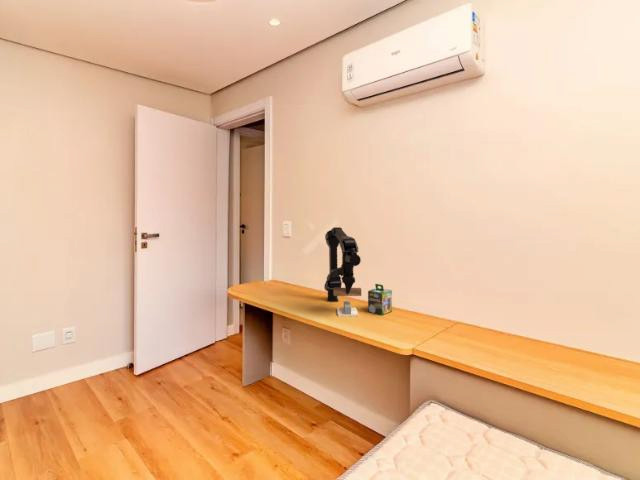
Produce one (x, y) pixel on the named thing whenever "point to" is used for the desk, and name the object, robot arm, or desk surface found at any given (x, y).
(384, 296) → the chalk box
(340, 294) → the bar
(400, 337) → the desk surface
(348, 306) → the fulcrum
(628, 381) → the desk surface
